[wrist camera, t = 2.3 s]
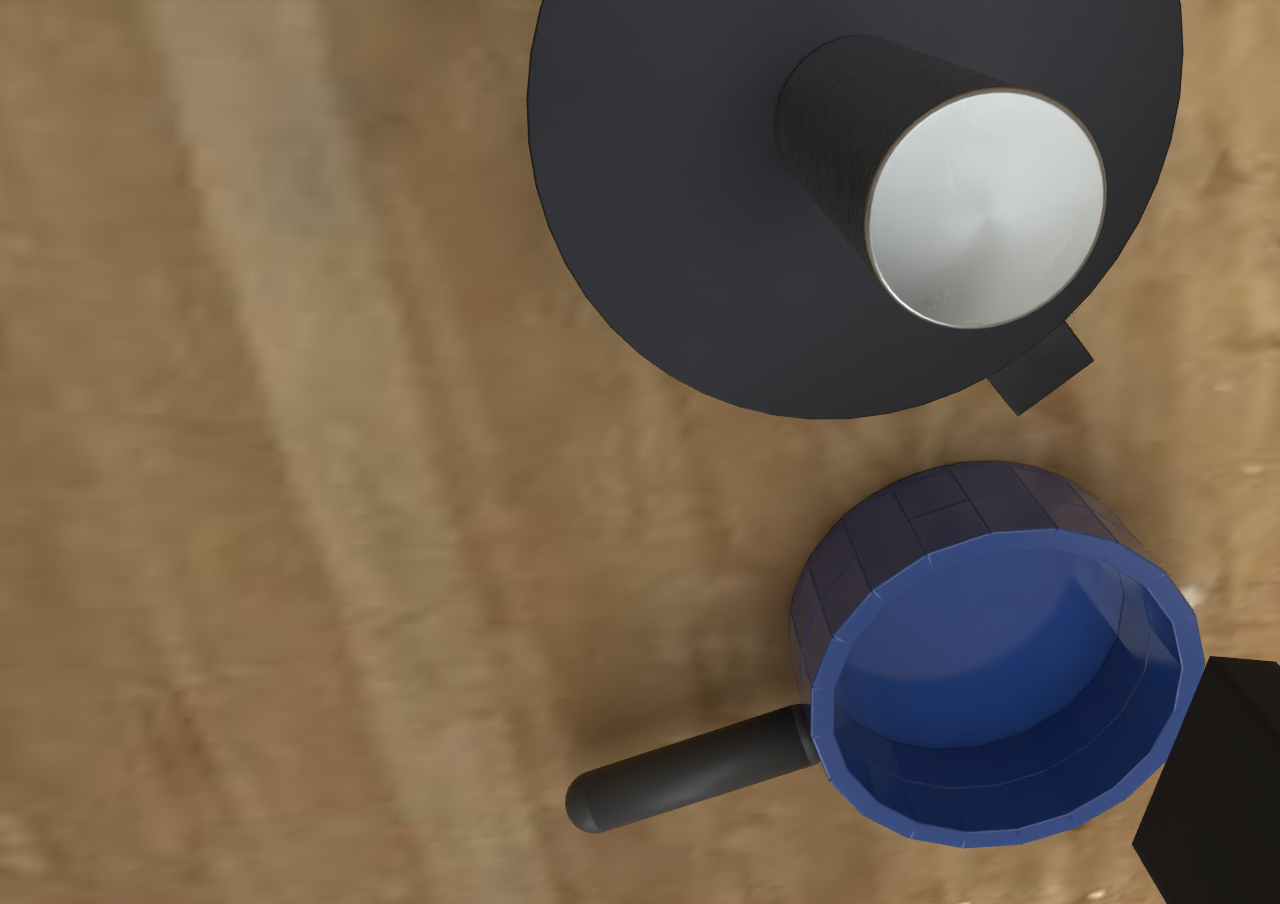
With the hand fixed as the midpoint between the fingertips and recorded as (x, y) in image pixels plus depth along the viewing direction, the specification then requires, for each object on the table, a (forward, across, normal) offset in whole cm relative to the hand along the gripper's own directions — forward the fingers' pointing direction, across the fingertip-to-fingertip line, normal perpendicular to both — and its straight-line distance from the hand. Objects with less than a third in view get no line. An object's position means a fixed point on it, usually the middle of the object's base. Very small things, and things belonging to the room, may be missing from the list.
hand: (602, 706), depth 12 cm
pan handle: (+23, -6, +19) cm, 30 cm away
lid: (+16, -5, -4) cm, 18 cm away
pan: (+25, -15, +14) cm, 32 cm away
